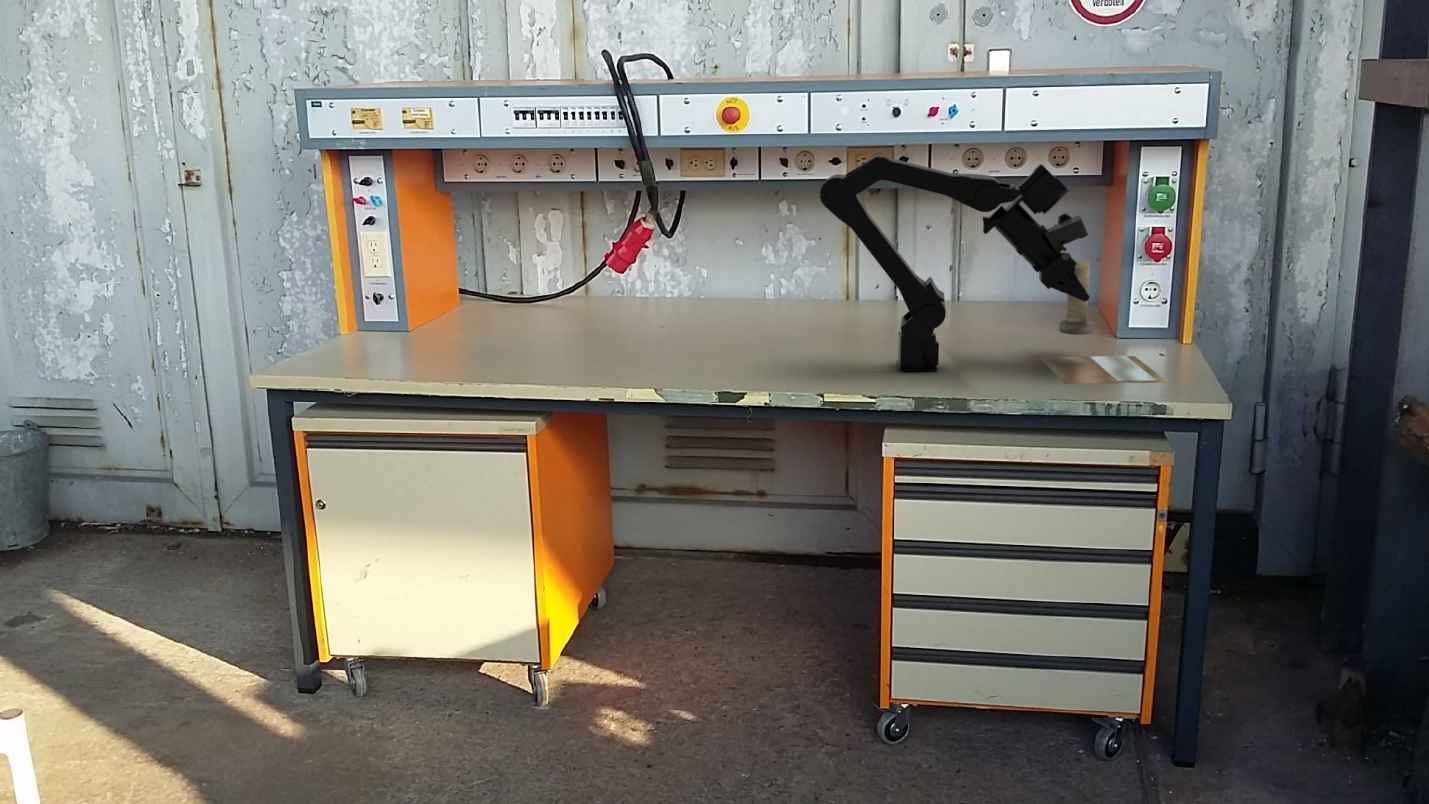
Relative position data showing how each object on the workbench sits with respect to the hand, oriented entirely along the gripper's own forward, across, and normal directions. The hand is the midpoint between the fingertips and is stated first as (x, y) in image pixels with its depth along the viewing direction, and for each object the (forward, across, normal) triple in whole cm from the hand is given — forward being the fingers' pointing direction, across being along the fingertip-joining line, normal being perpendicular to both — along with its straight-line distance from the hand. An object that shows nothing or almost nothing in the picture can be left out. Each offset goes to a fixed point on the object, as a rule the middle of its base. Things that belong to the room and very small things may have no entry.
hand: (1086, 297), depth 211 cm
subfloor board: (+11, -4, +7) cm, 14 cm away
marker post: (+3, 0, +5) cm, 6 cm away
